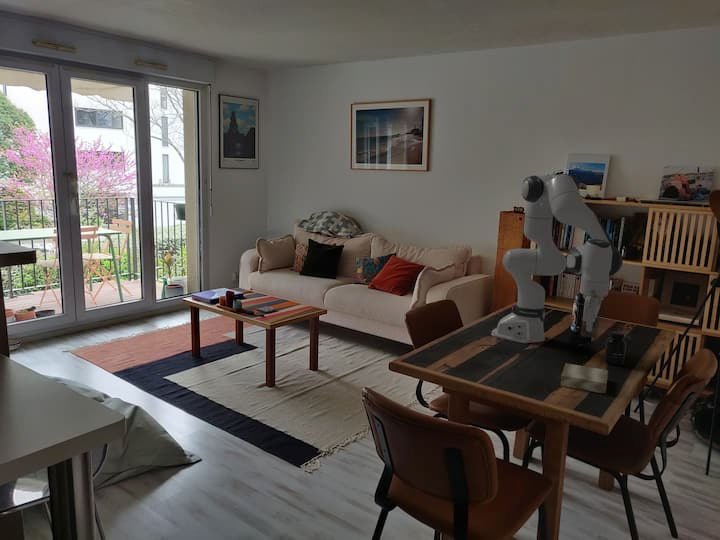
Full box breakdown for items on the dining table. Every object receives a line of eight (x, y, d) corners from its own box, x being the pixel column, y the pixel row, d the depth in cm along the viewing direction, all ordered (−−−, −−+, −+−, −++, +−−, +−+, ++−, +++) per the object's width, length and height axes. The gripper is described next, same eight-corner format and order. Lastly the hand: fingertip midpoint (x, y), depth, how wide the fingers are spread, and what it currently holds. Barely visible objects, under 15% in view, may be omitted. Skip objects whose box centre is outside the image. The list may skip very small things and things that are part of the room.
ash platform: (560, 386, 185) (561, 375, 184) (564, 373, 198) (565, 363, 197) (605, 395, 179) (606, 383, 178) (606, 381, 192) (608, 370, 191)
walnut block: (580, 335, 184) (582, 318, 183) (582, 332, 189) (583, 315, 187) (596, 338, 182) (598, 320, 181) (597, 334, 186) (599, 317, 185)
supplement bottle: (615, 367, 205) (619, 336, 203) (600, 361, 211) (603, 331, 208) (627, 364, 208) (631, 334, 206) (612, 358, 214) (615, 329, 212)
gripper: (602, 295, 172) (597, 337, 174) (606, 284, 190) (602, 323, 192) (580, 293, 175) (576, 334, 177) (586, 282, 193) (582, 320, 195)
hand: (589, 328), depth 185 cm, fingers closed on walnut block, 5 cm apart
